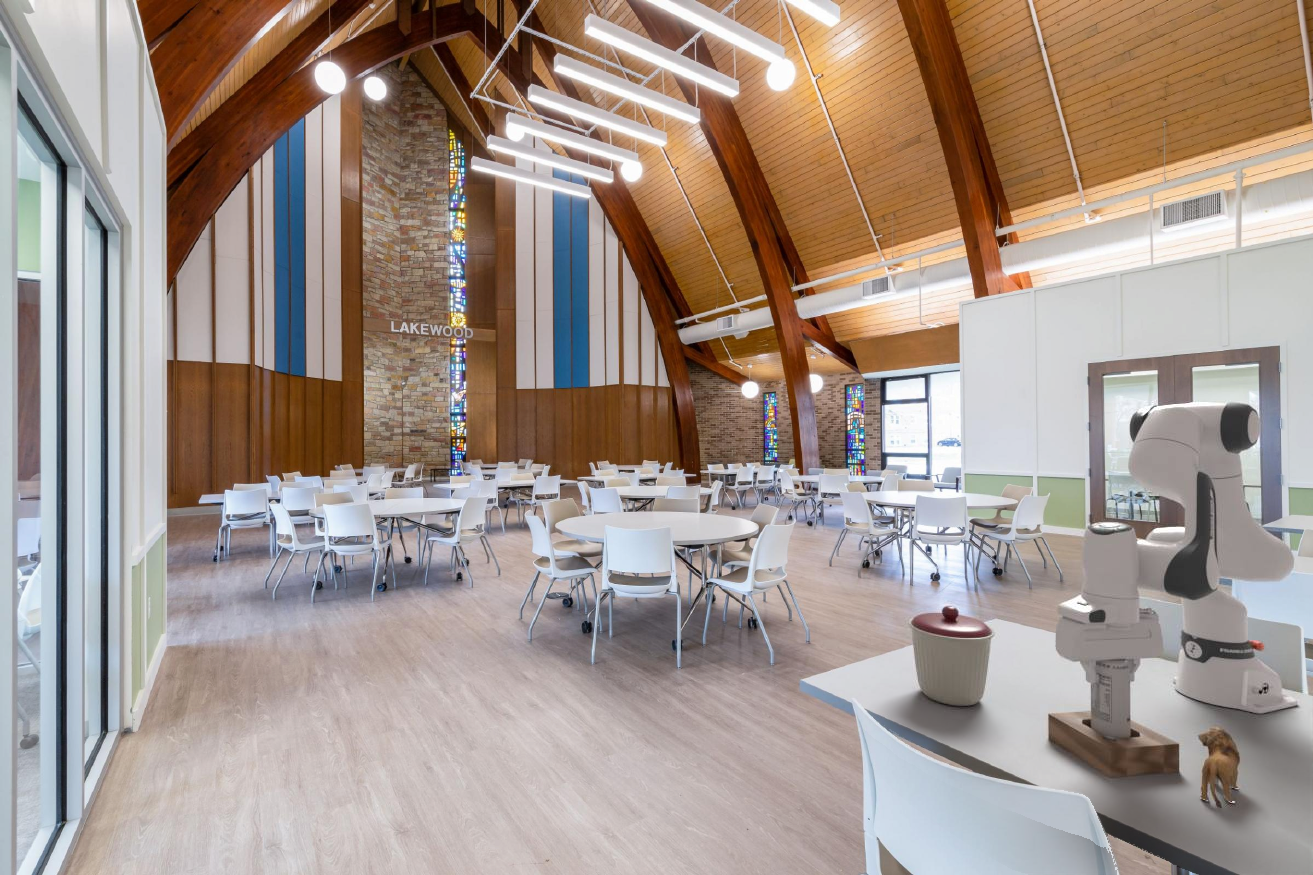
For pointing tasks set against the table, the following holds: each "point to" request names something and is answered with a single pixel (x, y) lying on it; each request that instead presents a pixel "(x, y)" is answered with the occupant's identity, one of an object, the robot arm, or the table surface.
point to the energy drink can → (1111, 699)
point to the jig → (1114, 746)
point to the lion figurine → (1219, 763)
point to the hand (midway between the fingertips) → (1110, 681)
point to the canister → (951, 656)
